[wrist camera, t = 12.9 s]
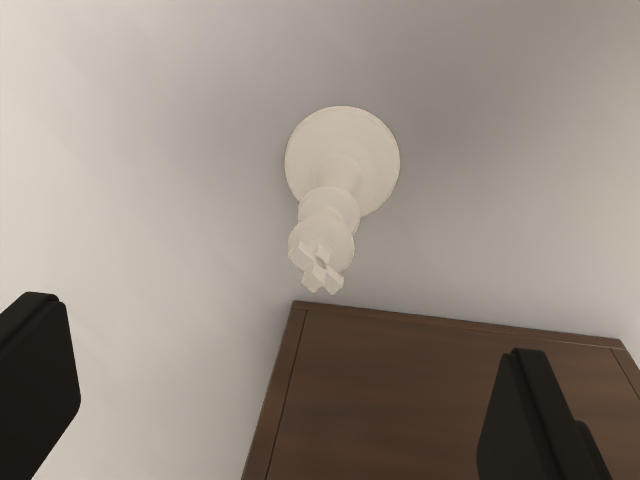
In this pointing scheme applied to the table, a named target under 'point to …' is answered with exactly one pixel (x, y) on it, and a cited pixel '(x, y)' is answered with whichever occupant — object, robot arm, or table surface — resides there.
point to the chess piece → (336, 187)
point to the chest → (421, 395)
